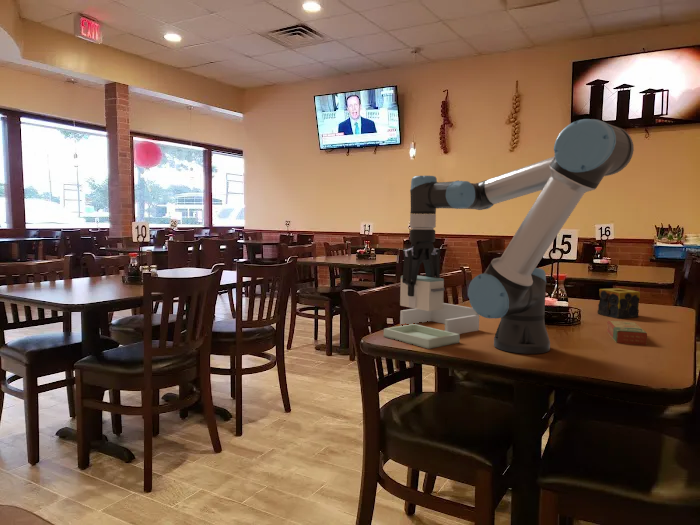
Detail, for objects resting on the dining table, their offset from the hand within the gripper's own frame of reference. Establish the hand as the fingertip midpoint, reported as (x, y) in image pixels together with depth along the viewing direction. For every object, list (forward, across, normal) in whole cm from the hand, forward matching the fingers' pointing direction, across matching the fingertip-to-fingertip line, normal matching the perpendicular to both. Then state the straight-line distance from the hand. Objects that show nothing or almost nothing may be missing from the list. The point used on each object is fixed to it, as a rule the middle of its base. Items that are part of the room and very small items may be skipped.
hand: (420, 305), depth 156 cm
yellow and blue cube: (+10, -90, +16) cm, 92 cm away
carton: (+11, -53, +36) cm, 65 cm away
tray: (+10, 0, 0) cm, 10 cm away
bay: (+10, -18, -9) cm, 22 cm away
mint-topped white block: (0, 0, 0) cm, 0 cm away
